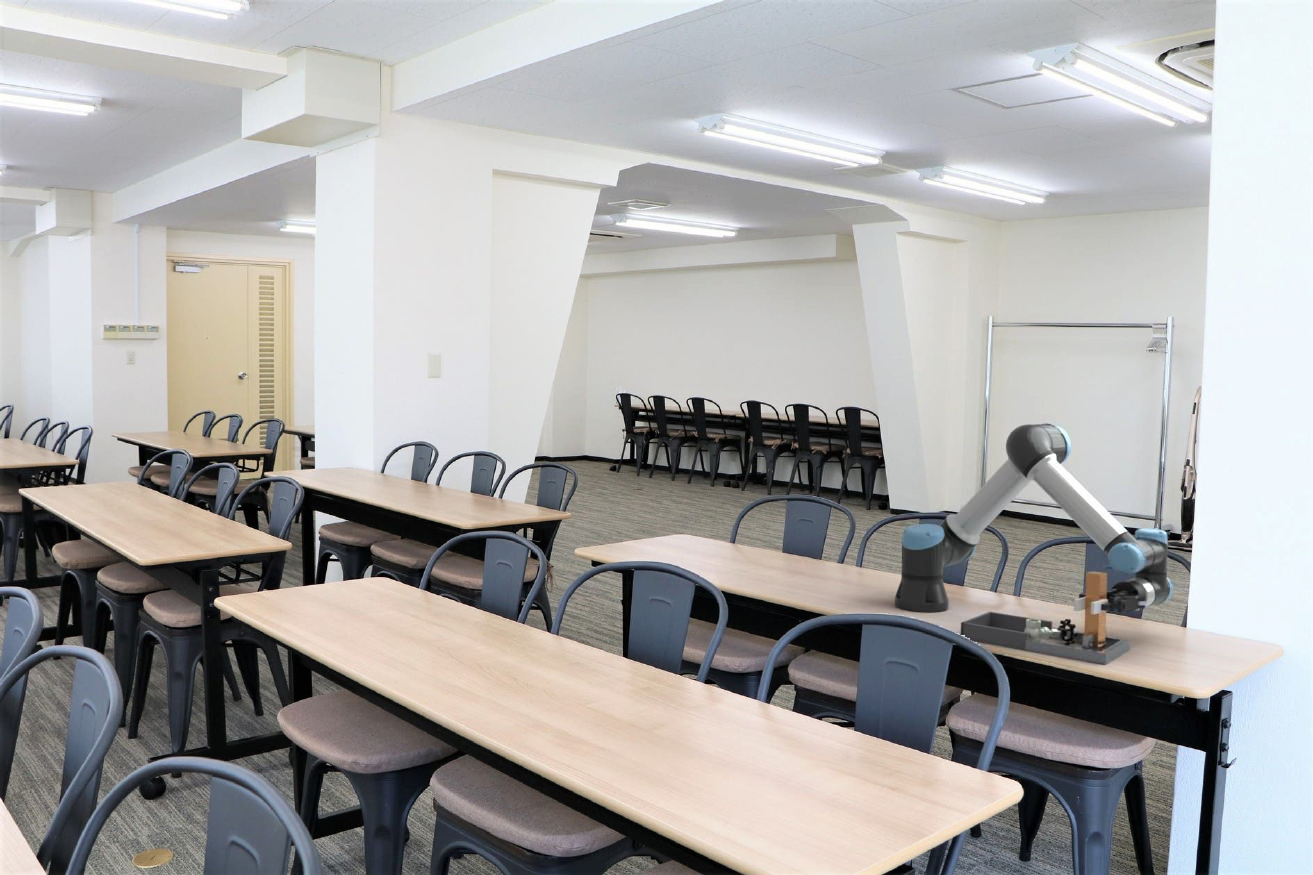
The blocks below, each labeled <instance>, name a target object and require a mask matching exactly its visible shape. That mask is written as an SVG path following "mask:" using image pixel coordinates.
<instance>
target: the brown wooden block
mask: <svg viewBox="0 0 1313 875" xmlns="http://www.w3.org/2000/svg"><path fill="white" fill-rule="evenodd" d="M1107 591H1108V573H1107V572H1102V571H1094V570H1093V571H1088V572H1087V571H1086V572H1085V592H1086V597H1085V609H1084V630H1083V632H1084V635H1083V643H1081V644H1082V646H1081V648H1084V649H1090V650H1096V651H1103V650H1105V649H1106V647H1107V643H1106V636H1107V626H1106V623H1107V622H1106V621H1107V611H1106V612H1102V613H1098V614H1091V602H1095V601H1100V600H1104V599H1106V597H1107Z"/></svg>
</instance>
